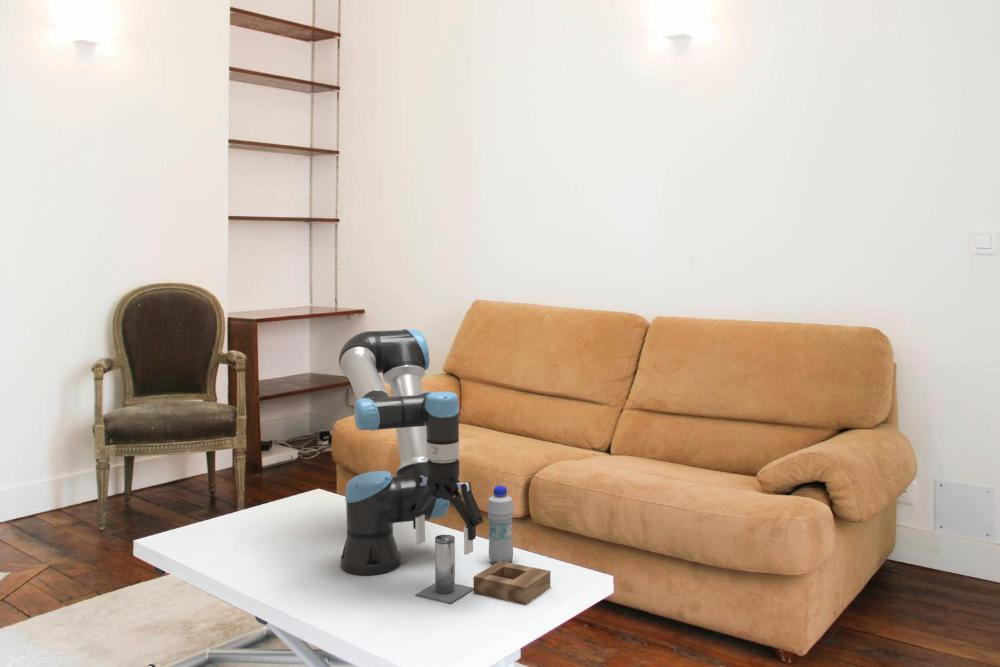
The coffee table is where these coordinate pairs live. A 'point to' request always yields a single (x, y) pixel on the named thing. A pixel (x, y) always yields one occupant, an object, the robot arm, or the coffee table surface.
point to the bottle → (500, 526)
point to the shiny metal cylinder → (444, 564)
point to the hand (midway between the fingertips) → (444, 547)
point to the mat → (447, 598)
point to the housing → (512, 582)
